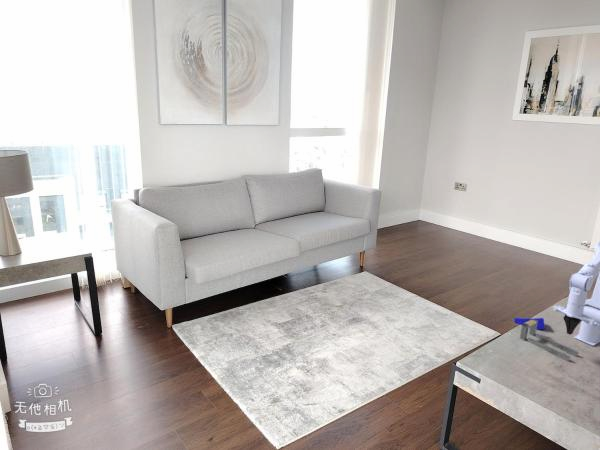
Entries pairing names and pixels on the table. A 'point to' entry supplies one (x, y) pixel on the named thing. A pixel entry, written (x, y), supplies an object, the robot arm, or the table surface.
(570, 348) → the guide channel
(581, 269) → the robot arm
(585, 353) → the table surface
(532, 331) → the bracket
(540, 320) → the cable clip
